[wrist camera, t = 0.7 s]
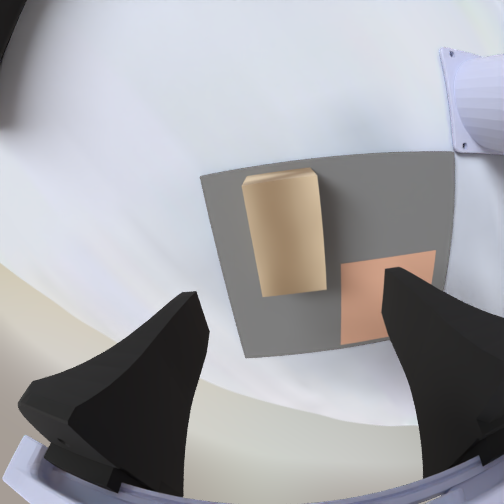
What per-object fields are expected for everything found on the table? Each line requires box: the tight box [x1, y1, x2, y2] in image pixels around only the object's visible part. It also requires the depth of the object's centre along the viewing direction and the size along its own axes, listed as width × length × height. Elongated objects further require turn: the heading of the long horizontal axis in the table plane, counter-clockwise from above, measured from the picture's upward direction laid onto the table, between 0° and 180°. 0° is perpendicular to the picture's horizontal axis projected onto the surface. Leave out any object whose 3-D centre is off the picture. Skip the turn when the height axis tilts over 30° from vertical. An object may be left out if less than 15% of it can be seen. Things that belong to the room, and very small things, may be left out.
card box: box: [242, 167, 327, 297], centre depth 17 cm, size 4×7×3 cm, turn 10°
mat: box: [200, 151, 455, 358], centre depth 20 cm, size 18×16×1 cm
